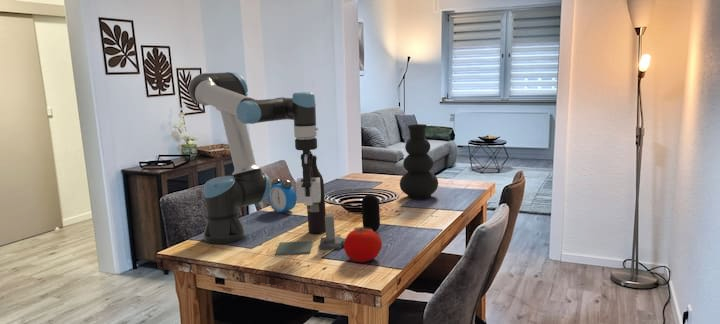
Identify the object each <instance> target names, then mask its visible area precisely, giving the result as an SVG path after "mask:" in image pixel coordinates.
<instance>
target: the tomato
mask: <svg viewBox="0 0 720 324" xmlns="http://www.w3.org/2000/svg"><path fill="white" fill-rule="evenodd" d="M345 238H346V239H345V242H344V246H343V249H344V253H345V255H346V256H347V257H348V258H349V259H350V260H352V261H353V262H357V263H365V262H369V261H371V260H373V259H374V258H376V257H377V256H378V255H379V253H380V251H381V250H382V246H383V245H382V243H383V242H382V238H381V237H380V235H379V234H378V233H377V232H374V231H372V230H369V229H366V228H365V229H363V228H361V229H356V230H354V229H353V230H352V231H350V232H349V233H348V234H347V235H346V237H345Z"/></svg>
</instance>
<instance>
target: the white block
mask: <svg viewBox="0 0 720 324" xmlns="http://www.w3.org/2000/svg"><path fill="white" fill-rule="evenodd" d="M301 185H303V177H298V178H297V179H296V182H295V192H296V196H297V201H296V204H304V187H301ZM311 186H312V203H314V202H320V200H321V188H320V177H318V178H311Z"/></svg>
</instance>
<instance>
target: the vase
mask: <svg viewBox="0 0 720 324" xmlns="http://www.w3.org/2000/svg"><path fill="white" fill-rule="evenodd" d="M407 128H408V131H409V139H408V140H407V141H406V143H405V146H404V147H405V148H404V149H405V151H406V153H407V154H408V155H406V157H405V158H404V160H403V162H402V163H403V164H402V165H403V168H404V169H405V171H407V172H406V173H405V174H403V175H402V176H401V177H400V180H399V186H400V188H399V189H400V190H401V191H402V192H403V193H404V194H405V195H407V197H408V199H412V200H424V199H425V200H426V199H429V198H431V197H432V194H434V193H435V192H436V191H437V189H438V187H439V180H438V177H437V176H436V175H435V173H432V172H431V170H432V169H433V167H434V159H433V158H432V156H430V155H429V154H428V153H430V150H431V144H430V142H429V140H428V139H427V138H425V137H426V128H427V124H426V123H425V124H424V123H423V124H422V123H419V124H415V123H414V124H408V125H407Z"/></svg>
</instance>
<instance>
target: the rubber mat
mask: <svg viewBox="0 0 720 324" xmlns="http://www.w3.org/2000/svg"><path fill="white" fill-rule="evenodd" d="M312 247H313V240H300V241H299V240H298V241H281V242H279V243H278V246H277V248H276V250H275V251H274V252H275V253H274V256H286V255H306V254H311V251H312Z"/></svg>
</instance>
